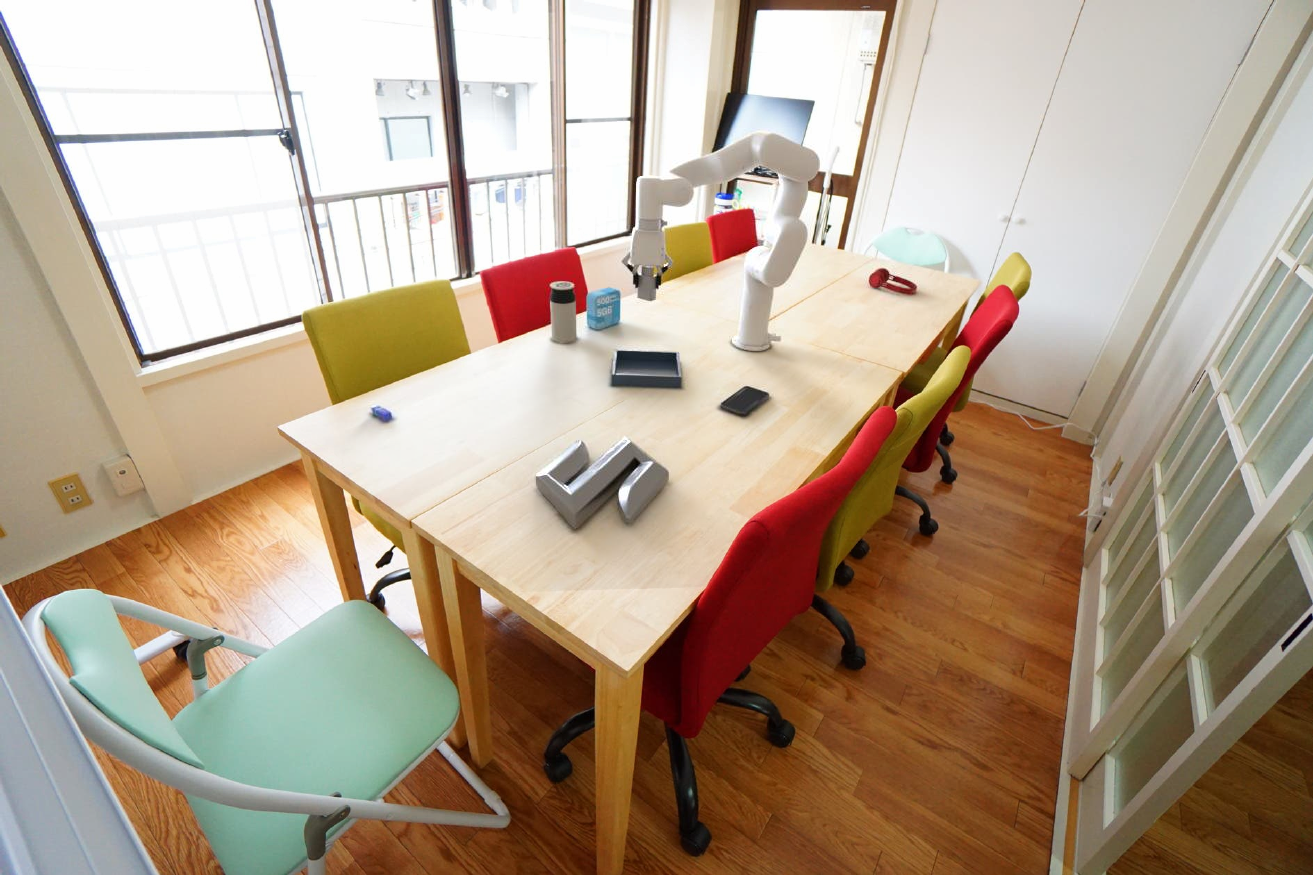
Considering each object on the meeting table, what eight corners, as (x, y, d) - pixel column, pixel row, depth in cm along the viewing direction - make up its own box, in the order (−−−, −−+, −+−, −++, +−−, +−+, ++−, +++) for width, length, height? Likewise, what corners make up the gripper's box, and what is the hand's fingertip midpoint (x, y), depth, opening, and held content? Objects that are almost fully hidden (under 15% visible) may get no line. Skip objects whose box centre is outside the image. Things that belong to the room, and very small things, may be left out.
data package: (595, 331, 197) (595, 296, 190) (586, 327, 199) (585, 293, 193) (620, 322, 204) (620, 289, 198) (611, 319, 207) (611, 286, 201)
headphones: (864, 286, 255) (908, 302, 248) (870, 271, 251) (915, 286, 244) (872, 279, 266) (915, 294, 259) (878, 264, 262) (922, 279, 255)
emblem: (677, 507, 109) (527, 509, 106) (675, 529, 112) (529, 531, 109) (663, 430, 132) (540, 430, 130) (662, 450, 135) (542, 450, 133)
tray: (678, 362, 178) (678, 351, 176) (680, 388, 163) (681, 377, 161) (614, 360, 177) (614, 349, 175) (611, 386, 162) (611, 374, 160)
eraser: (379, 410, 144) (377, 403, 143) (392, 418, 141) (391, 411, 140) (371, 413, 143) (369, 406, 142) (385, 422, 140) (383, 414, 139)
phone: (719, 404, 153) (745, 385, 164) (718, 408, 154) (745, 388, 164) (745, 413, 150) (771, 393, 160) (744, 417, 150) (770, 397, 161)
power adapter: (642, 295, 177) (643, 255, 170) (656, 299, 174) (658, 258, 168) (636, 297, 174) (637, 257, 168) (650, 301, 172) (652, 260, 165)
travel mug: (581, 337, 191) (579, 283, 182) (568, 345, 185) (566, 290, 176) (560, 332, 194) (558, 279, 184) (547, 340, 188) (544, 285, 178)
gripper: (678, 222, 166) (675, 284, 176) (619, 220, 166) (618, 282, 175) (679, 228, 160) (675, 292, 169) (617, 225, 159) (617, 290, 169)
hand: (646, 286), depth 172 cm, fingers closed on power adapter, 5 cm apart
